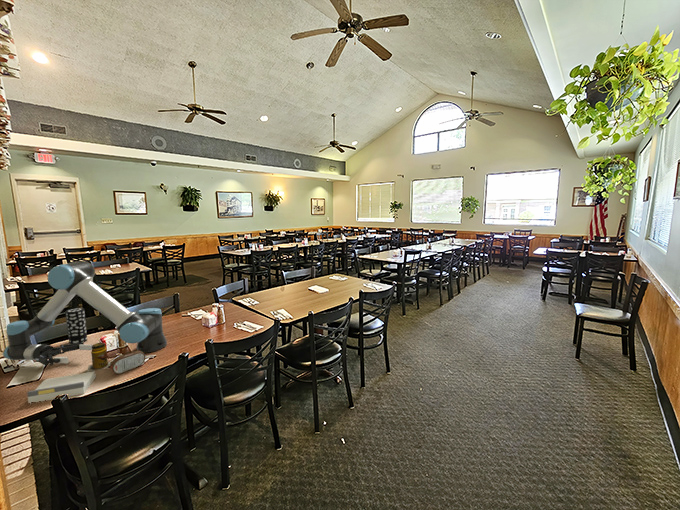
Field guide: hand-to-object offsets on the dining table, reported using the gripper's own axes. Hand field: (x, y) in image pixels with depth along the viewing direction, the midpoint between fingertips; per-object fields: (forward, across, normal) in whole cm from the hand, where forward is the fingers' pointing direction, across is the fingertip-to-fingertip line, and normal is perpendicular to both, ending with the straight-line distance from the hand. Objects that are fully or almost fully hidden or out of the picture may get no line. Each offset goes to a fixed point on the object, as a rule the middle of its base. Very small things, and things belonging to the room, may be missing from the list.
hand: (80, 353), depth 148 cm
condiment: (+9, 0, -7) cm, 11 cm away
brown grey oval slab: (+26, +2, -7) cm, 27 cm away
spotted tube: (-27, -27, -7) cm, 39 cm away
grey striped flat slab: (+10, +19, -7) cm, 23 cm away
